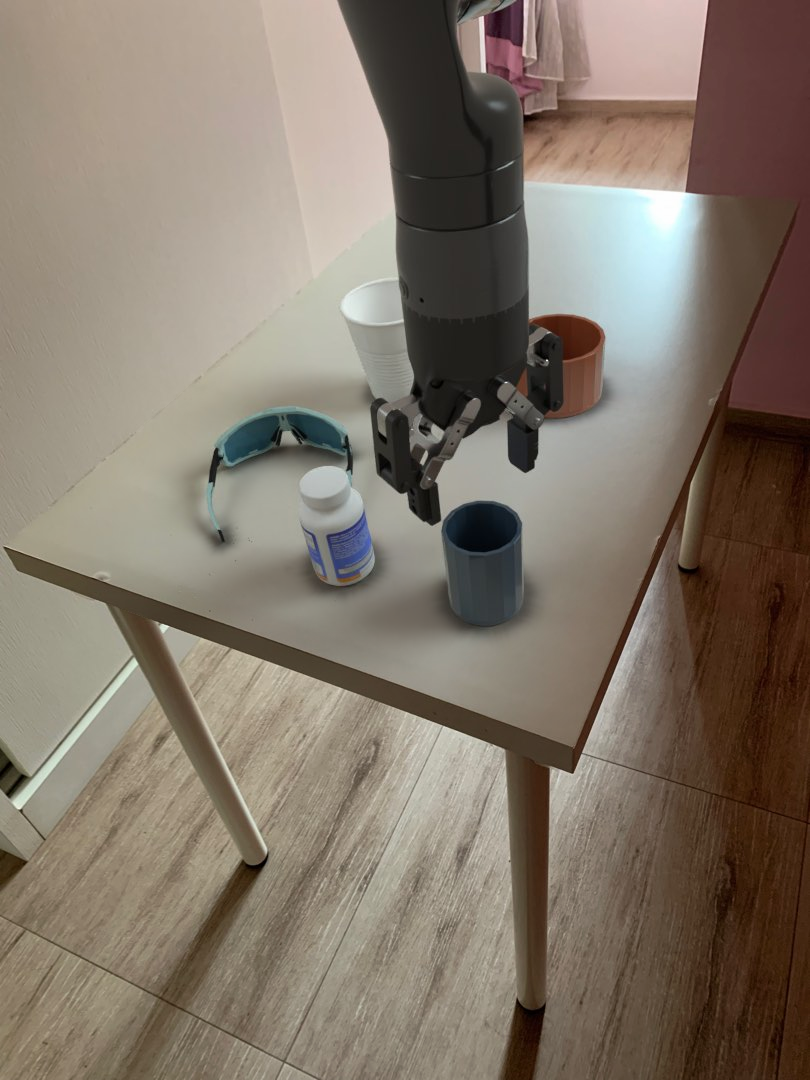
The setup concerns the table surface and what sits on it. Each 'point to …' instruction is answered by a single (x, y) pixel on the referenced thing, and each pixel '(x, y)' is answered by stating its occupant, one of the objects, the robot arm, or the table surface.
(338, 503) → the pill bottle
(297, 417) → the sunglasses
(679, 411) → the table surface
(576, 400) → the terracotta cup
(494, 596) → the slate cup
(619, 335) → the table surface
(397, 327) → the cup
